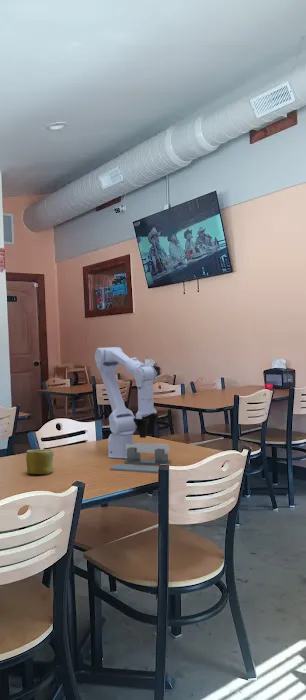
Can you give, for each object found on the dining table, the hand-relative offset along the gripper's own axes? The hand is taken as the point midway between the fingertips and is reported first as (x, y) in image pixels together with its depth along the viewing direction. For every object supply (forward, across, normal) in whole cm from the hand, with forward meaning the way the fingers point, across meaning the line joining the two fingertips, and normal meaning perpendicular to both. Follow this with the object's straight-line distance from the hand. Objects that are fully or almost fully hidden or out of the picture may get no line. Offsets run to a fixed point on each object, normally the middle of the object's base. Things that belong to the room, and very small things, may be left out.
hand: (146, 435), depth 210 cm
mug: (+10, -22, +31) cm, 39 cm away
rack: (+10, 0, 0) cm, 10 cm away
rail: (+6, 0, 0) cm, 6 cm away
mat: (+10, -10, 0) cm, 14 cm away
